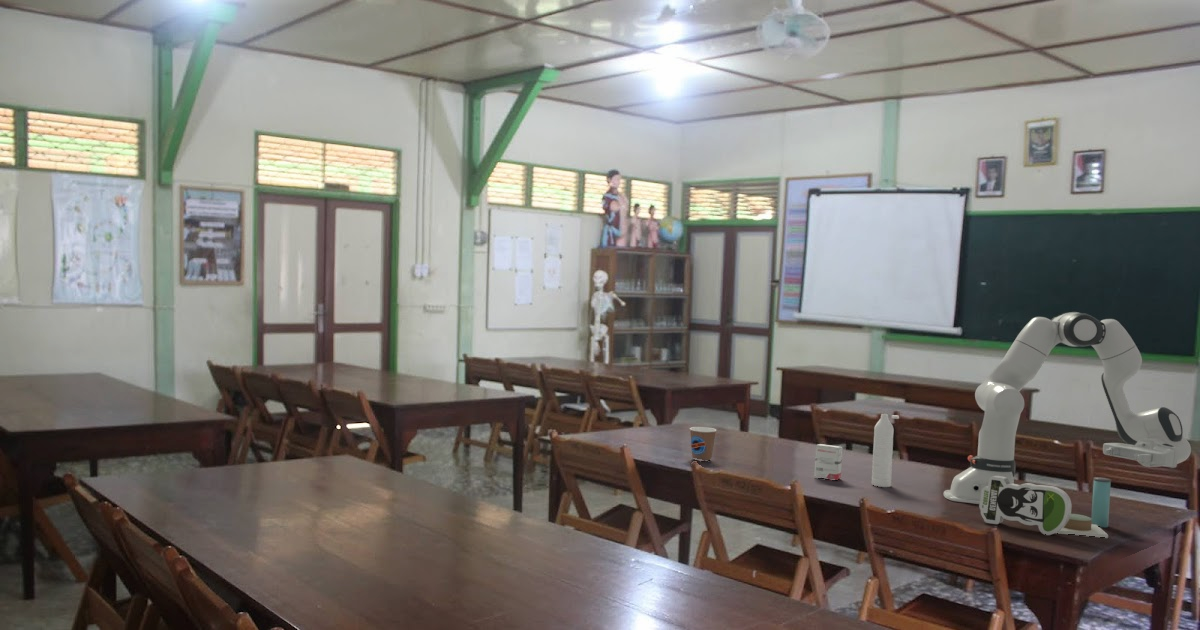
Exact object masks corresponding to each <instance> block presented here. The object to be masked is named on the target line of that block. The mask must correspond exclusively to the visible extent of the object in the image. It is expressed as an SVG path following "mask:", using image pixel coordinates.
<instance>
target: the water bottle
mask: <svg viewBox="0 0 1200 630" xmlns="http://www.w3.org/2000/svg"><path fill="white" fill-rule="evenodd" d="M880 415H881V416H880V418H879V420H878V421H877V422H876V424H875V425H874V429H873V430H874V431H873V448H872V449H873V450H872V466H871V467H872V468H871V469H872V472H871V485H872V486H873V485H874V487H877V486H878V488H881V487H882V488H890V487H891V486H892V471H893V470H892V469H893V467H892V466H893V451H894V450H893V447H894V431H895V430H894V425H893V424H892V422H891V421H890V419H889V414H887V413H881V414H880ZM891 419H895V420H899V419H900V415H896V414H895V415H894V414H892V415H891Z"/></svg>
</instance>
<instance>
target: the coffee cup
mask: <svg viewBox="0 0 1200 630" xmlns="http://www.w3.org/2000/svg"><path fill="white" fill-rule="evenodd" d="M689 430H690V448H691V457H692V459H693V458H697V459H702V460H710V459H711V460H712V457H713V450H714V443H715V439H716V432H717V429H716V428H713V427H707V426H693V427H689Z"/></svg>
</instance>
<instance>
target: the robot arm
mask: <svg viewBox="0 0 1200 630" xmlns="http://www.w3.org/2000/svg"><path fill="white" fill-rule="evenodd" d="M1058 344H1060V345H1067V346H1068V347H1077V348H1078V347H1079V348H1084V347H1089V346H1091V347H1092V348H1093V349H1094V351H1095V352H1096V353H1097V356H1098V357H1099V359H1100V361H1101V363H1102V366H1103V373H1102V374H1101V377H1100V379H1101V384H1102V388H1103V391H1104V394H1105V396H1106V400H1107V401H1108V405H1109V407H1110V410H1111V413H1112V416H1113V418H1114V421H1115V427H1116V432H1117V435H1118V436H1119V438H1120V439H1121V440H1122V441H1123V442H1124V443H1123V442H1106V443H1103V444H1102V454H1104V455H1105V456H1111V457H1116V458H1120V459H1121V458H1122V459H1126V460H1132V461H1136V462H1138V464H1140V465H1141V466H1143V467H1146V468H1150V467H1151V468H1152V467H1155V468H1157V467H1163V468H1172V469H1173V468H1177V466H1178V464H1181V463H1183V462H1185V461H1186V460H1187V459H1188V458H1189V457H1190V455H1191V452H1192V447H1191V444H1190V442H1189V441H1188V440H1187V438H1185V437H1184V436H1183V432H1184V431H1183V425H1182V421H1181V420H1180V417H1179V416H1178V415H1177V414H1176V413H1175V412H1174V411H1172V410H1171V409H1170V408H1168V407H1165V406H1164V407H1163V406H1162V407H1159V408H1152V409H1149V410H1148V409H1147V410H1145V411H1141V412H1136V413H1135V412H1133V411H1132V410H1131V407H1130V405H1129V403H1128V399H1127V397H1126V394H1125V392H1124V385H1125V383H1127V381H1128V380H1129V381H1130V379H1131V378H1132V377H1134V376H1135V375H1136V374H1137V373H1138V372H1139V371H1140V369H1141V367H1142V363H1143V358H1142V355H1141V352H1140V350H1139V349H1138V346H1137V345H1136V343H1135V342H1134V339H1132V336H1131V335H1130V334H1129V333H1128V331H1127V330H1126V328H1125V327H1124V326H1123V325H1122V324H1121V323H1120V321H1118V320H1116V319H1114V318H1105V319H1102V320H1099V319H1097V318H1096V317H1094V316H1092V315H1090V314H1089V313H1084V312H1077V311H1071V312H1063V313H1060V314H1058V315H1056V316H1053V318H1051V319H1049V318H1047V317H1045V316H1035V317H1032V318H1031V319H1030V320H1029V322H1027V323H1026V325H1025V326H1024V327H1023V328H1022V329H1021V331H1020V332H1019V333H1018V334H1017V336H1016V338H1015V340H1014V341H1013V342H1012V344H1011V346H1010V347H1009V349H1008V350H1007V352H1006V354H1005V355H1004V357H1003V358H1002V359H1001V361H1000V362H999V363H998V365H997V366H995V368H994V369H993V370H992V371H991V372H990V374H989V375H988V376H987V377H986V378H985V379H984V381H983V382H982V383H981V384H979V385H978V386H977V388H976V389H975V393H974V397H975V402H976V404H977V405H978V408H980V409H981V410H982V411H984V415H983V420H982V423H981V428H980V429H979V432H978V442H977V445H978V446H977V455H975V456H974V455H971V454H970V455H968V456H967V460H968V462H970V466H969V467H968V468H967V469H964V470H963V471H962V472H960V473H957V474H956V475H955V476H954V477H953V479H952V482H951V484H950V489H945V490H944V491H943V497H944V498H945V499H947V500H949V501H952V502H959V503H968V504H974V505H975V504H976V505H979V504H980V498H981V490H982V488H984V487H986V486H988V482H989V478H990V477H992V476H1003V477H1006V478H1007V479H1008V480H1009V482H1010V484H1015V483H1014V482H1015V481H1014V478H1015V475H1016V459H1015V448H1016V447H1015V445H1016V436H1017V435H1016V434H1017V429H1018V426H1019V422H1020V417H1021V413H1022V412H1024V411H1023V410H1024V408H1025V399H1024V396H1023V395H1022V393H1021V390H1022V389H1023V388H1025V386H1026V385H1027V384H1028V383H1030V382H1031V381H1032V380H1033V379H1034V378H1036V376H1037V374H1038V372H1039V371H1040V369H1041V368H1042V367H1043V366H1042V365H1043V364H1044V363H1045V361H1046V360H1047V358H1048V356H1049V355H1050V353H1051V351H1052V350H1053V349H1054V348H1055V346H1056V345H1058Z"/></svg>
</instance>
